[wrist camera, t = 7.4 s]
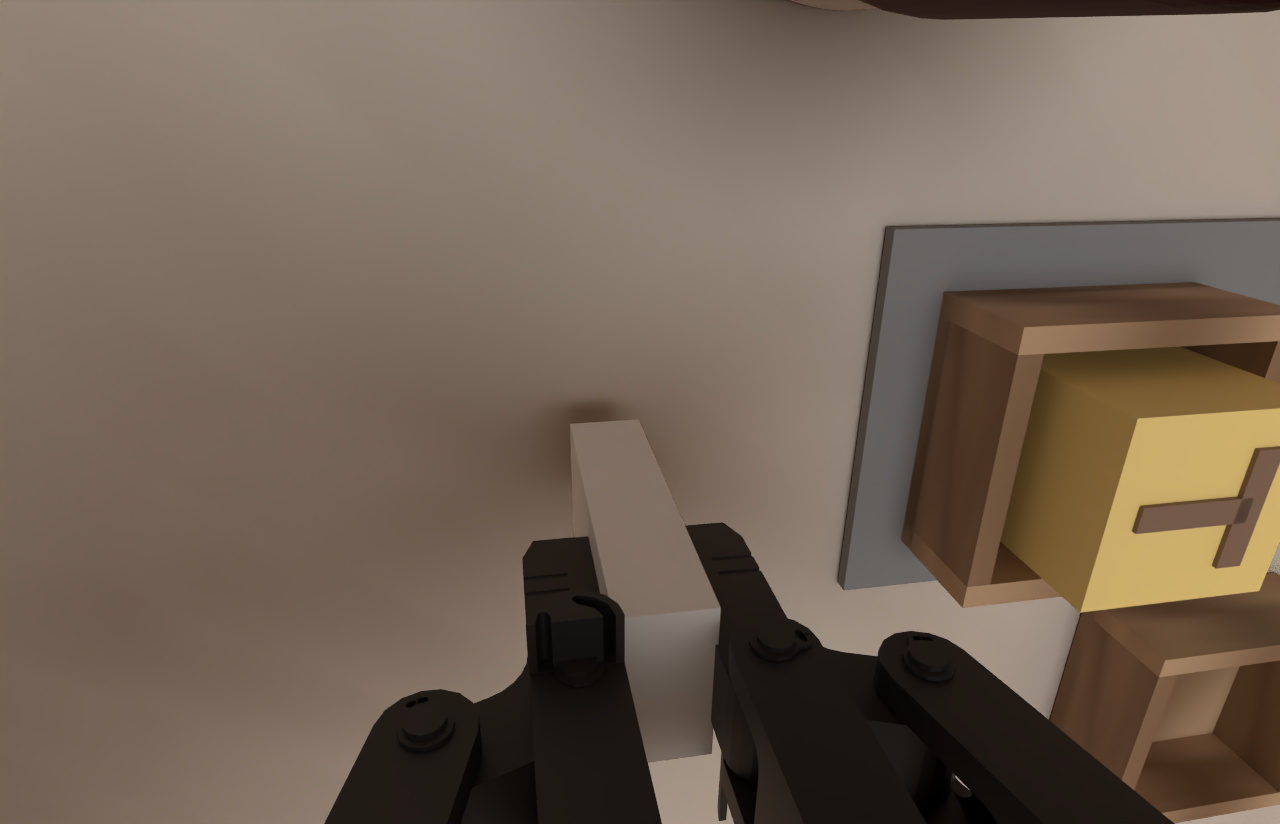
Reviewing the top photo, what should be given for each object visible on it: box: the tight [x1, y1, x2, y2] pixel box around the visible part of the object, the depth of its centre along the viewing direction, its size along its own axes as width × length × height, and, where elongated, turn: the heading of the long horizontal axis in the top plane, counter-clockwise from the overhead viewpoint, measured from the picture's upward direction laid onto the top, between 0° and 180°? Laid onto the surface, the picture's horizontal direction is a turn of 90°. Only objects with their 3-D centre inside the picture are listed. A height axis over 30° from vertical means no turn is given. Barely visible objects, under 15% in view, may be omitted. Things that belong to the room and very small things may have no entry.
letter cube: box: [1000, 346, 1280, 613], centre depth 17 cm, size 4×4×5 cm
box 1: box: [901, 282, 1280, 608], centre depth 19 cm, size 7×7×3 cm
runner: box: [838, 218, 1280, 590], centre depth 21 cm, size 20×10×1 cm, turn 90°
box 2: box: [1050, 573, 1280, 823], centre depth 24 cm, size 7×7×3 cm
